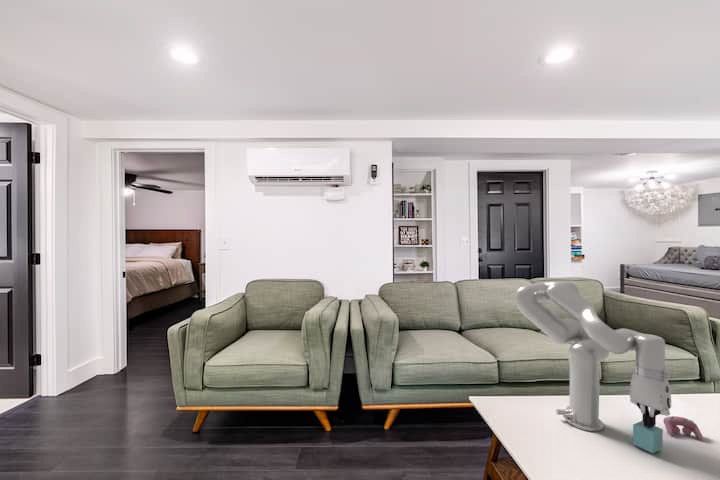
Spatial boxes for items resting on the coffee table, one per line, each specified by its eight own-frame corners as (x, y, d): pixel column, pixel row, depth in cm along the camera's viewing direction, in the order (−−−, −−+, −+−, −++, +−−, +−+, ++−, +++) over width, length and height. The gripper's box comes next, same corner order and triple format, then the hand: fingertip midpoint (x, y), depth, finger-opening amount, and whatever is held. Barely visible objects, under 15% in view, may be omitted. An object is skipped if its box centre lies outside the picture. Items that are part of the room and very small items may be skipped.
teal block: (653, 453, 111) (653, 433, 111) (632, 443, 116) (633, 424, 116) (662, 448, 113) (662, 429, 113) (641, 439, 119) (642, 420, 118)
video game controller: (697, 440, 122) (692, 418, 125) (705, 441, 118) (699, 419, 121) (664, 435, 125) (660, 414, 128) (670, 436, 122) (666, 414, 124)
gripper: (683, 378, 109) (682, 435, 109) (630, 362, 122) (629, 413, 123) (672, 382, 106) (671, 441, 106) (618, 366, 119) (617, 417, 119)
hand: (648, 425), depth 114 cm, fingers closed
